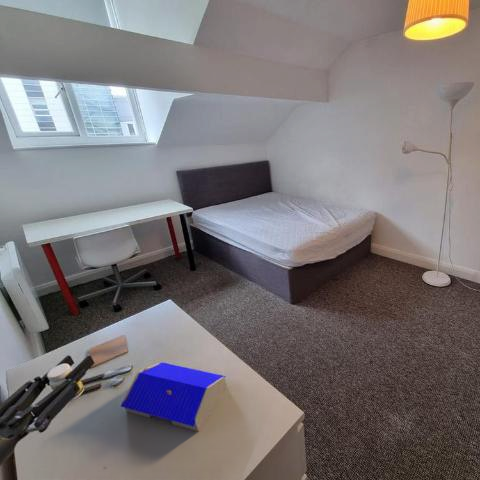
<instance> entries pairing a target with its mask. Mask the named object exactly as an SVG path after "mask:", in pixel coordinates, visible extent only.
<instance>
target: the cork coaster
mask: <svg viewBox="0 0 480 480" xmlns="http://www.w3.org/2000/svg"><path fill="white" fill-rule="evenodd" d="M128 352H129V351H128V346H127V341H126V336H125V334H123V335H119V336H117V337H114V338H112V339H110V340H108V341H105V342H103V343H101V344H98V345H96V346H93V347H90V348H88V356H91V357H92V359H93V361H94V364H93V365H92V366H91V367H90V368H89V369H92V368H95V367H97V366H99V365H101V364H104V363H107V362H108V361H111V360H113V359H116V358H118V357H121V356H122V355H125V354H127V353H128Z"/></svg>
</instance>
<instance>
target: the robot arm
mask: <svg viewBox="0 0 480 480" xmlns="http://www.w3.org/2000/svg"><path fill="white" fill-rule="evenodd" d="M61 364H69V366H70V367H71V368H72V366H73V365H74V364H75V361H74V360H73V358H72V356H71V355H66V356H65V357H64V358H63V359H61V360H60V361H59V363H57V364H56V365H55V366H54V367H56V366H58V365H61ZM93 364H94V361H93V359H92V357H91V356H89V355H87V356H86V357H85V358H84V359H83V360H82V361H80V363H78V365H76V366H75V367H74V368H73V371H71V372H70V373H69V374H68V375H67V376H66V377H65V379H66V381H65V382H63V383H62V384H61V385H59V386H58V387H57V388H56V389H54V390H53V389H52V391H50V392H49V393H48V394H47V395H45V396H44V397H43V398H42V399H40V400H39V401H38V402H36V403H35V404H34V402H35V401H36V400H37V399H38V398H39V396H40V395H41V394H42V393H43V391H44V390H45V389H46V387H47V386H50V384H49V381H50V380H49V379H48V377H47V374H48V372H49V371H50V370H48V371H47V372H46V373H45V374H44V375H43V376H42V377H41V376H40V375H38V376H35V377H34V378H33V381H32V380H29V381H26V382H25V383H23V385H21V386H20V387H19V388H17V390H15V392H13V393H12V394H11V395H10V396H9V397H7V399H5V400H4V401H3V402H2V403H1V404H0V467H1V466H2V465H3V464H4V463H5V462H6V461H7V460H8V459H9V458H10V457H11V456H12V454H14V452H15V449H16V447H17V444H18V443H19V442H20V441H22V440H23V439H24V438H26V437H27V436H28V435H29V434H30V433H33V432H36V431H38V432H39V433H40V434H41V433H44V432H45V431H46V430H47V429H48V428H49V426H50V424H51V422H52V421H53V420H54V419H55V418H56V417H57V415H58V414H59V413H60V412H61V411H62V410H63V409H64V408H65V407H66V406H67V405H68V403H69V401H70V400H71V399H72V398H73V397H74V396H75V395H76V394H77V393H78V392H79V391H80V387H79V386H78V384H77V383H78V382H79V380H80V381H81V380H82V379H83V377H84V376H85V375H86V374H87V371H89V369H91V368H90V367H91V366H92V365H93ZM50 387H51V386H50ZM70 402H71V401H70Z"/></svg>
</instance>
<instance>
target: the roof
mask: <svg viewBox="0 0 480 480" xmlns="http://www.w3.org/2000/svg"><path fill="white" fill-rule="evenodd" d="M226 377H227V375H222V374H217V373H214V372H209V371H203V370H200V369H195V368H191V367H185V366H180V365H175V364H171V363H166V362H157V363H156V364H153V365H151V366H148V367H146V368H143V369H141V370H139V371H137V373H136V374H135V376H134V377H133V380H132V382H131V384H130V385H129V388H128V390H127V391H126V393H125V394H124V397H123V399H122V401H121V404H120V407H121V408H123V409H125V411H126V412H128V413H130V414H135V415H138V416H141V417H146V418H149V419H151V417H152V416H154V417H157V418H161V419H163V420H169V421H171V423H172V425H174V426H178V427H181V428H185V429H188V430H192V431H196V432H200V430H201V429H202V427H203V425H204V424H205V422H206V421H207V419H208V418H209V416H210V414H211V412H213V409H214V408H215V406H216V405H217V402H218V401H219V399H220V398H221V396H222V395H223V393H224V392H225V390H226V388H227V387H228V386H227V381H226Z"/></svg>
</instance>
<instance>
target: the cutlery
mask: <svg viewBox="0 0 480 480" xmlns="http://www.w3.org/2000/svg"><path fill="white" fill-rule="evenodd" d="M132 369H133V364H128V365H125V366H121V367H119V368H115V369H112V370H109V371H106V372H104V373H102V374H98V375H95V376H94V375H93V376H91V377H87V378H84V379H80V381H81V382H82V384H83V386H84V385H86V384H91V383H93V382H97V381H100V380H107V379H110V378H112V379H111V380H110V381H109V385H110V386H111V387H117V386H119V385H121V384H122V383H123V381H124V379H125V378H124V376H123V374H126V373H129V372H131V371H132ZM101 388H102V383H101V382H100V383H96V384H93V385H91V386H86V387H84V391H83V392H82V393H81V395H84V394H87V393H90V392H94V391H96V390H100V389H101Z"/></svg>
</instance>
